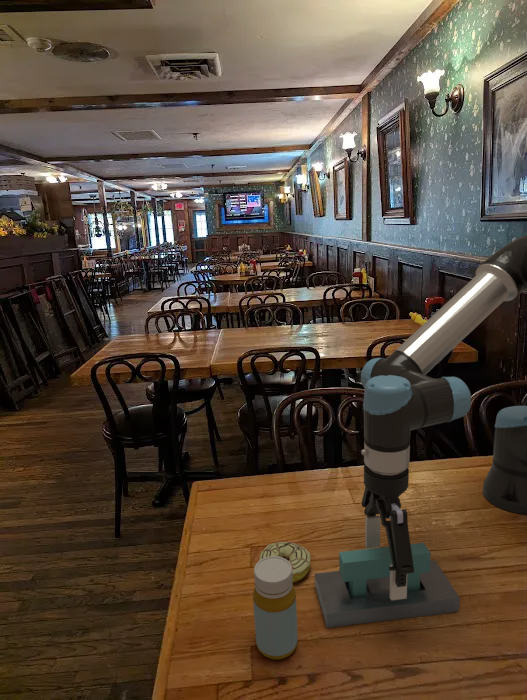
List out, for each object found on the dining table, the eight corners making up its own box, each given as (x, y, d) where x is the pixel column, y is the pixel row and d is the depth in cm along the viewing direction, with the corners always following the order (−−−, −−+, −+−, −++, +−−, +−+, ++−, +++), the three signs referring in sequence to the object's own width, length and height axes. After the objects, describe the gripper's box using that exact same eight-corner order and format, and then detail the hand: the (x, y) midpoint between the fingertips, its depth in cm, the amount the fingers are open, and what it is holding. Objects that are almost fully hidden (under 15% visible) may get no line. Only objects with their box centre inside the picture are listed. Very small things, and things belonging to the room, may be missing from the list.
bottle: (294, 665, 78) (291, 586, 74) (252, 659, 79) (246, 581, 75) (300, 629, 84) (297, 556, 80) (260, 625, 86) (256, 552, 82)
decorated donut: (297, 547, 106) (297, 532, 105) (320, 579, 96) (319, 562, 95) (252, 560, 103) (251, 544, 102) (271, 594, 93) (270, 578, 92)
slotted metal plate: (434, 572, 96) (434, 559, 95) (458, 611, 86) (459, 597, 86) (315, 586, 94) (314, 573, 93) (326, 628, 84) (326, 613, 84)
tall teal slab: (421, 587, 92) (423, 542, 90) (428, 599, 89) (430, 553, 87) (339, 597, 91) (339, 552, 88) (343, 609, 88) (343, 563, 86)
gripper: (345, 436, 95) (346, 530, 100) (390, 508, 71) (388, 627, 76) (382, 433, 95) (381, 526, 101) (439, 503, 71) (434, 621, 77)
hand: (384, 570), depth 89 cm, fingers open, 13 cm apart
